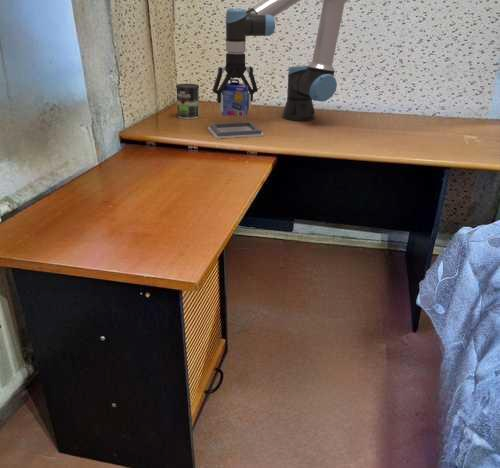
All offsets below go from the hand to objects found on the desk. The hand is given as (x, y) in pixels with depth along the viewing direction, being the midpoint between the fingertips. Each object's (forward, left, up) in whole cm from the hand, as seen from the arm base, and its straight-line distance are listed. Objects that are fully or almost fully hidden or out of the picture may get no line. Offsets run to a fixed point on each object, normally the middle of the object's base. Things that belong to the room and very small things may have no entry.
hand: (235, 110), depth 195 cm
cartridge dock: (0, 0, -9) cm, 9 cm away
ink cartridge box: (0, 0, -2) cm, 2 cm away
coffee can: (+14, -32, -9) cm, 36 cm away
